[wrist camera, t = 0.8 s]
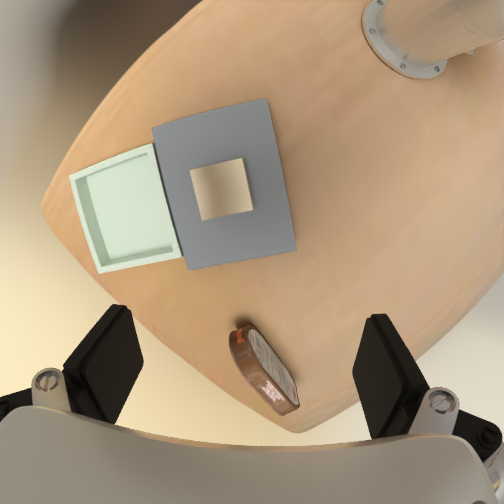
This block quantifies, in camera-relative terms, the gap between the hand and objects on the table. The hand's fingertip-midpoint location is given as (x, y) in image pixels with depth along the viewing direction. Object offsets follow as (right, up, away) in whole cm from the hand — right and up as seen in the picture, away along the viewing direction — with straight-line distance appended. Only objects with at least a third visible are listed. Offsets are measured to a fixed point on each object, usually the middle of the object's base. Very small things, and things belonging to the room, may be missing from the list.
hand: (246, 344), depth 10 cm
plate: (-2, +11, +21) cm, 24 cm away
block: (-3, +10, +17) cm, 20 cm away
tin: (+3, -11, +29) cm, 31 cm away
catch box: (-15, +9, +22) cm, 28 cm away
